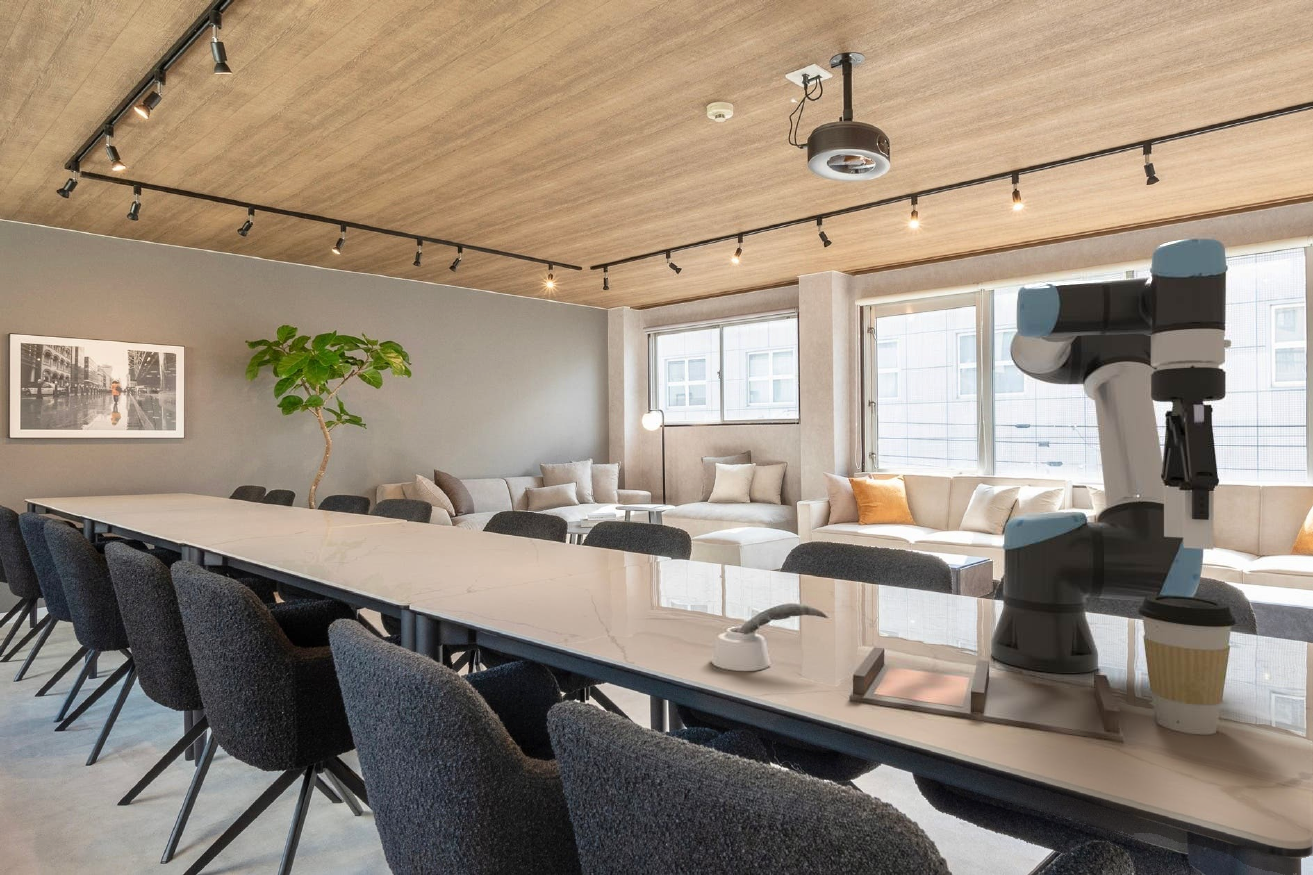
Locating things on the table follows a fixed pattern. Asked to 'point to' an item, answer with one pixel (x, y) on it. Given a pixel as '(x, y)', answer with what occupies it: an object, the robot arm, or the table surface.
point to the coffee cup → (1186, 659)
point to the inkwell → (753, 639)
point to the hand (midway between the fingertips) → (1186, 542)
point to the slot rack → (990, 697)
